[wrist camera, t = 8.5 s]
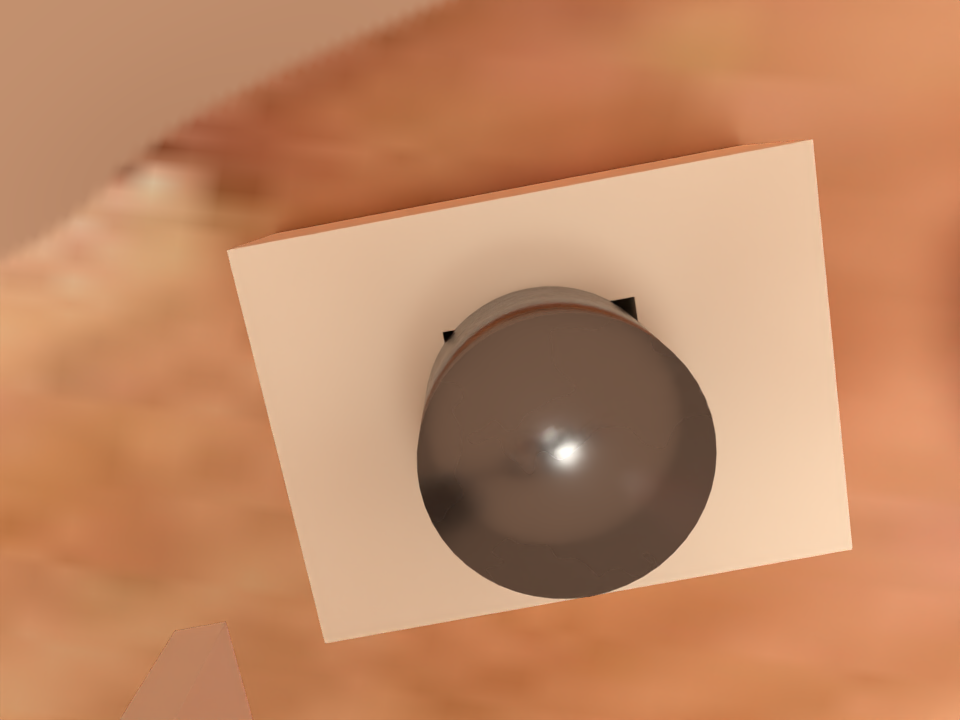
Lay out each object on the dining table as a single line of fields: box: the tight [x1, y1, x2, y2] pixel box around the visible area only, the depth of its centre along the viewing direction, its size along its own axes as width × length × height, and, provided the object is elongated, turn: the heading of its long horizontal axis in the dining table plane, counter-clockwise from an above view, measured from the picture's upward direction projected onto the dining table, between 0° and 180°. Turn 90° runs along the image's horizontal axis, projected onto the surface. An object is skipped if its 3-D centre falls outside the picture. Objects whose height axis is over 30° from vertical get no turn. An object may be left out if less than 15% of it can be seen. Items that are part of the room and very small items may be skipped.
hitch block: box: [227, 139, 852, 643], centre depth 27 cm, size 16×12×6 cm
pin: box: [417, 286, 717, 599], centre depth 25 cm, size 7×7×10 cm
